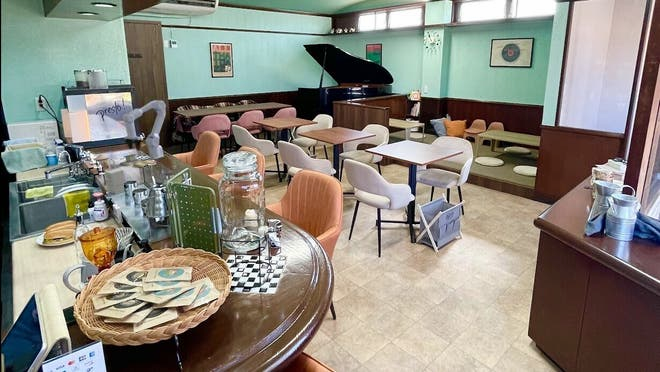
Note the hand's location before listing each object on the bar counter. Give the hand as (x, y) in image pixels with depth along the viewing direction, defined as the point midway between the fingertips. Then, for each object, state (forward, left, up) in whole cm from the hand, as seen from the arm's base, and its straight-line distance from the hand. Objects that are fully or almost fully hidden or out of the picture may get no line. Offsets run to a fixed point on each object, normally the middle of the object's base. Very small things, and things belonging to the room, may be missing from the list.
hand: (134, 149), depth 296 cm
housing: (+4, -1, -8) cm, 9 cm away
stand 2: (+4, +13, -10) cm, 17 cm away
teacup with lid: (+23, -3, -10) cm, 25 cm away
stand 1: (+4, -1, -10) cm, 11 cm away
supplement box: (+54, +50, -10) cm, 74 cm away
